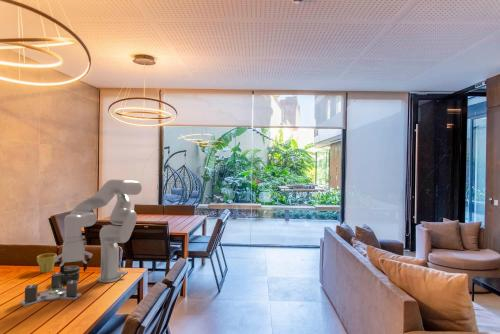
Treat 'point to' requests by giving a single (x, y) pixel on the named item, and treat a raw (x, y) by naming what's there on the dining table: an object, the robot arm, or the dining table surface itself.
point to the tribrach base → (51, 295)
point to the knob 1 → (31, 293)
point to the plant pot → (46, 262)
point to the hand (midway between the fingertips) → (74, 272)
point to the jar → (70, 274)
